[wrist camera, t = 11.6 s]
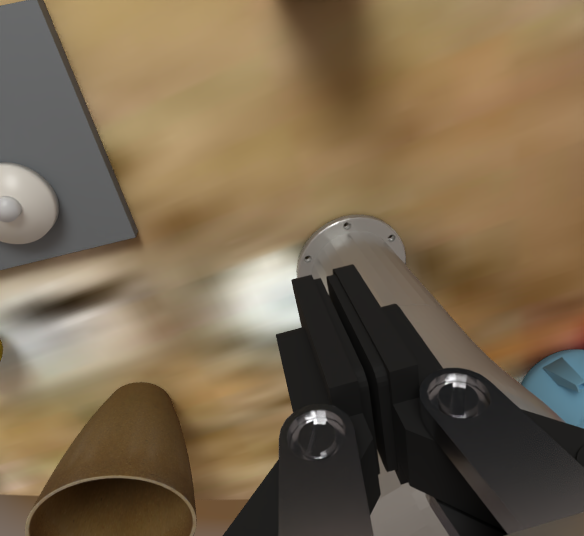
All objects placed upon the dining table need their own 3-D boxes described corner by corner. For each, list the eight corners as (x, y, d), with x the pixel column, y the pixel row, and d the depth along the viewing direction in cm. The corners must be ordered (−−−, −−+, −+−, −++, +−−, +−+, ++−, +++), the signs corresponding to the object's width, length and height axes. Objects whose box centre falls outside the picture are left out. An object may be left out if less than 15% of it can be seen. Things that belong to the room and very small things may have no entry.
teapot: (573, 415, 70) (629, 472, 60) (494, 417, 66) (540, 479, 57) (618, 340, 63) (690, 393, 54) (533, 339, 60) (593, 394, 50)
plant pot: (217, 373, 53) (220, 491, 39) (177, 452, 58) (166, 581, 44) (93, 342, 48) (45, 466, 34) (61, 432, 53) (8, 571, 39)
